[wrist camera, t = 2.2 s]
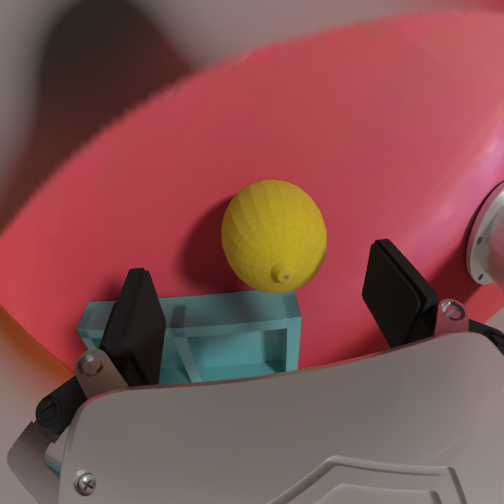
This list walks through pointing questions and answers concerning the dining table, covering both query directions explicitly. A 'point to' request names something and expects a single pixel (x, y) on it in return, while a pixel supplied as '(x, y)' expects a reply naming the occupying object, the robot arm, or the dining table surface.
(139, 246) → the dining table surface
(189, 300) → the square compartment tray
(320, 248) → the lemon
